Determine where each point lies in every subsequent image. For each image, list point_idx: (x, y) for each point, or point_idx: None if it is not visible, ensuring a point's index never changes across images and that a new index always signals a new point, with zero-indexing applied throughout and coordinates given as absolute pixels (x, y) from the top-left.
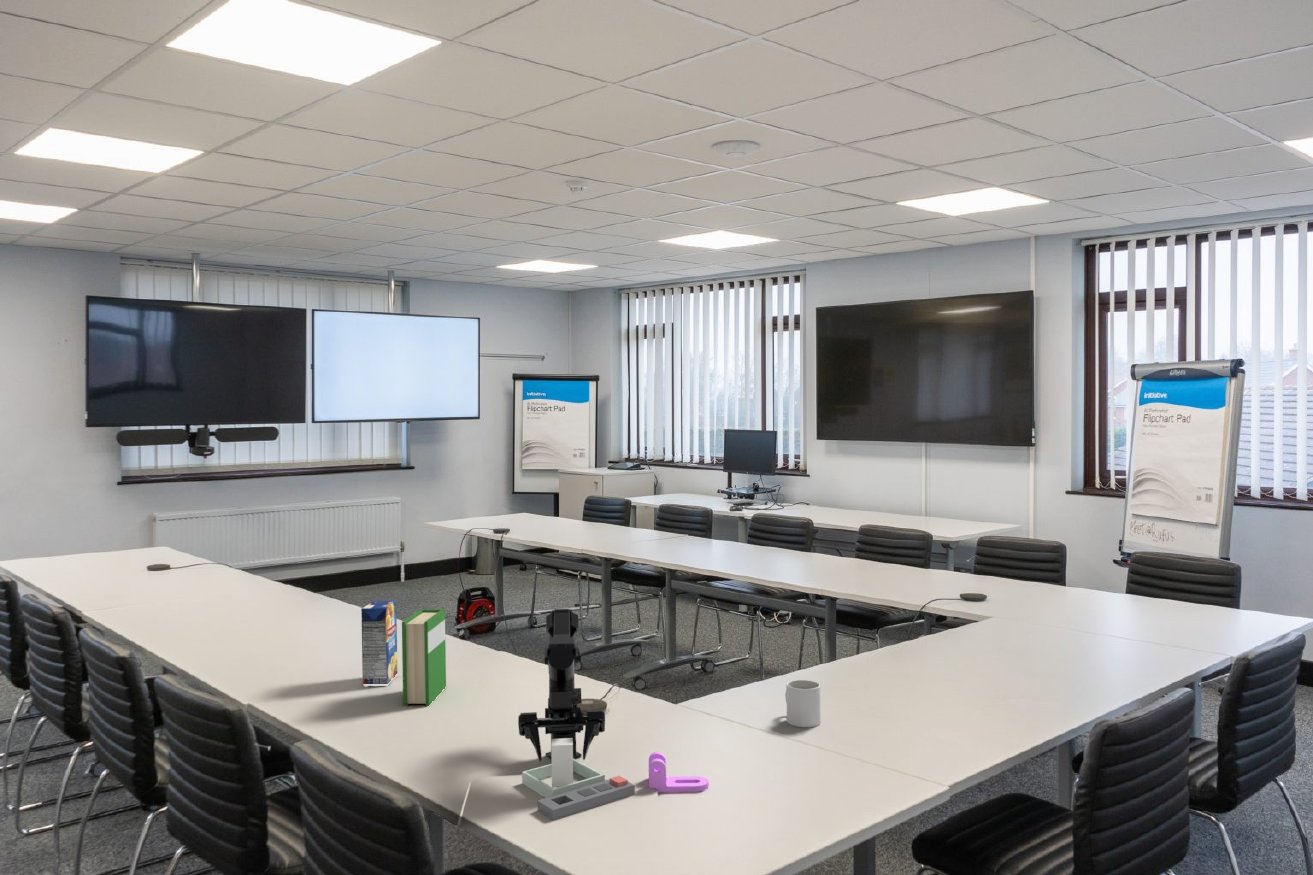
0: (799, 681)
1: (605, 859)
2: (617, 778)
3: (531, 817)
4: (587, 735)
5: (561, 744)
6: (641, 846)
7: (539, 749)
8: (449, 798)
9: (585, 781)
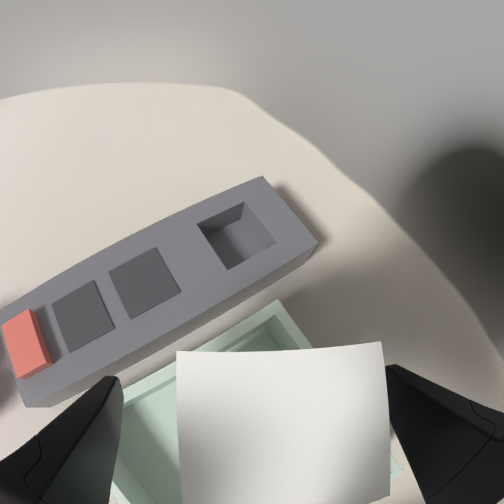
0: None
1: (161, 92)
2: (24, 352)
3: (318, 252)
4: (25, 474)
5: (296, 370)
6: (93, 116)
7: (428, 389)
8: (490, 367)
9: (140, 380)
